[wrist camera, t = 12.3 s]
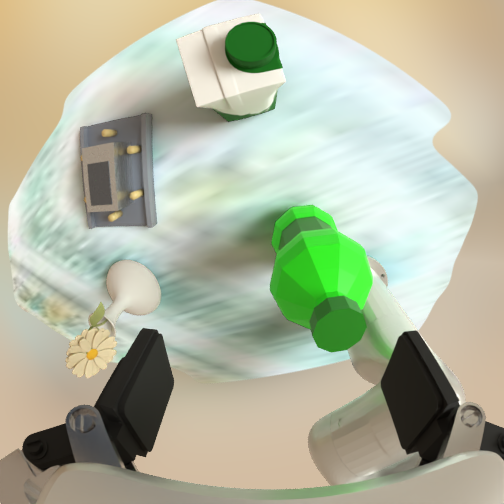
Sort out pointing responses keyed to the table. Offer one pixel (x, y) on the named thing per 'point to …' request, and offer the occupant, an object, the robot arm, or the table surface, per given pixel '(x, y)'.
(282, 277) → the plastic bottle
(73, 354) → the flower in vase
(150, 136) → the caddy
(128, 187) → the block
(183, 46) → the milk carton
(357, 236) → the table surface
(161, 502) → the robot arm
